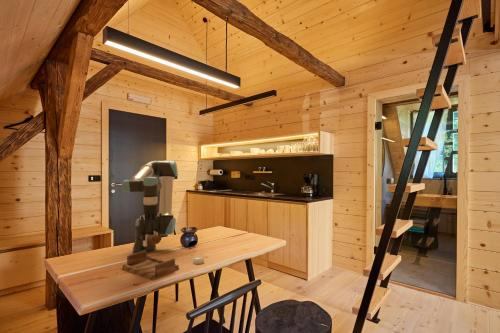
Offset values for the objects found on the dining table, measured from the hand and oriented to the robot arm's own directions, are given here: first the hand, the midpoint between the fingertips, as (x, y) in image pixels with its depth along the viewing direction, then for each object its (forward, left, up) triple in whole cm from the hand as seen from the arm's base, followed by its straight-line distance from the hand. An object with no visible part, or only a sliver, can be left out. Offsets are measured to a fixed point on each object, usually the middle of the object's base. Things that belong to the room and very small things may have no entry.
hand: (150, 244), depth 152 cm
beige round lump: (+15, +23, -15) cm, 31 cm away
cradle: (0, 0, -14) cm, 14 cm away
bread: (+1, 0, -2) cm, 2 cm away
